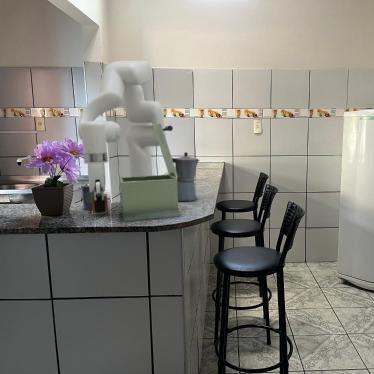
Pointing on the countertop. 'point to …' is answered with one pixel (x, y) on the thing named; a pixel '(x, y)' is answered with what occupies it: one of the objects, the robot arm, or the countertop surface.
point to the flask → (87, 197)
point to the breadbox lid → (165, 148)
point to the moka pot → (185, 177)
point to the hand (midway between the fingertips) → (100, 209)
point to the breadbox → (148, 197)
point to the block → (94, 204)
